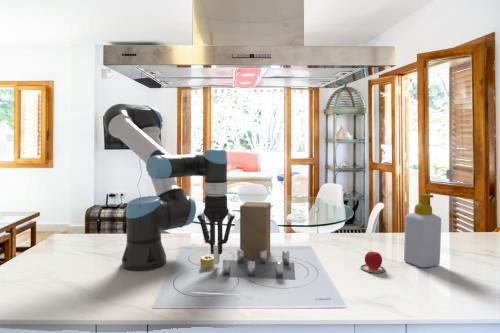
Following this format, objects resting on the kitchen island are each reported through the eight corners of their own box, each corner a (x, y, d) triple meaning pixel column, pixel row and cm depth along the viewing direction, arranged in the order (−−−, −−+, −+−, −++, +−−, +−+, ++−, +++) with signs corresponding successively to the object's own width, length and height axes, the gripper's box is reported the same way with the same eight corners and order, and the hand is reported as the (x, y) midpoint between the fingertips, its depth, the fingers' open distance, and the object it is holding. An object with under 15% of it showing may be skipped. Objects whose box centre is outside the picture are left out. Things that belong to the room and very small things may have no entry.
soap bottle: (422, 269, 121) (424, 196, 120) (402, 261, 130) (404, 192, 128) (441, 265, 125) (444, 195, 123) (420, 258, 133) (422, 191, 132)
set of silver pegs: (222, 275, 114) (222, 261, 114) (229, 260, 128) (229, 248, 128) (289, 278, 112) (289, 264, 112) (289, 263, 126) (289, 250, 126)
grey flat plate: (219, 277, 113) (219, 276, 113) (227, 261, 129) (227, 260, 129) (295, 280, 111) (295, 279, 111) (294, 263, 127) (294, 262, 127)
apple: (355, 267, 124) (356, 248, 123) (374, 264, 126) (374, 246, 126) (371, 275, 116) (371, 255, 116) (390, 272, 119) (391, 253, 119)
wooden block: (266, 261, 130) (266, 206, 128) (239, 259, 132) (239, 205, 130) (270, 252, 139) (270, 202, 138) (245, 251, 141) (245, 201, 140)
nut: (197, 267, 123) (197, 257, 122) (206, 264, 126) (206, 254, 126) (208, 270, 120) (208, 260, 119) (217, 267, 123) (217, 257, 123)
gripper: (194, 196, 117) (195, 266, 118) (233, 196, 115) (233, 267, 117) (199, 192, 124) (200, 259, 126) (236, 193, 123) (237, 260, 124)
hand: (216, 263), depth 121 cm, fingers closed
